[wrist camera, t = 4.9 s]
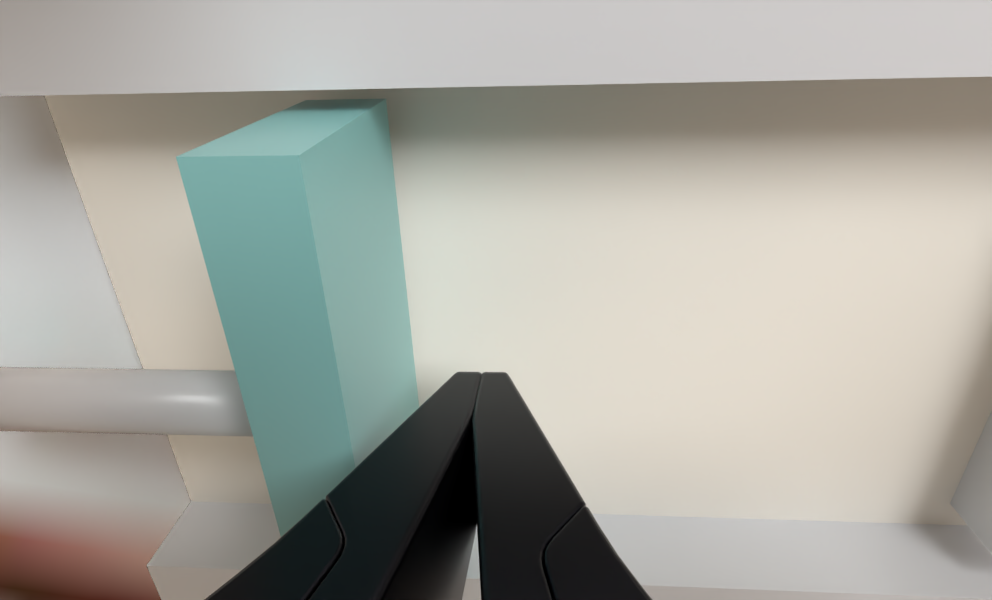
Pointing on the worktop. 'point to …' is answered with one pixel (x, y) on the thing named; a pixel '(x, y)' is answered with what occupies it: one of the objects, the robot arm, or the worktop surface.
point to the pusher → (274, 309)
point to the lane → (606, 256)
